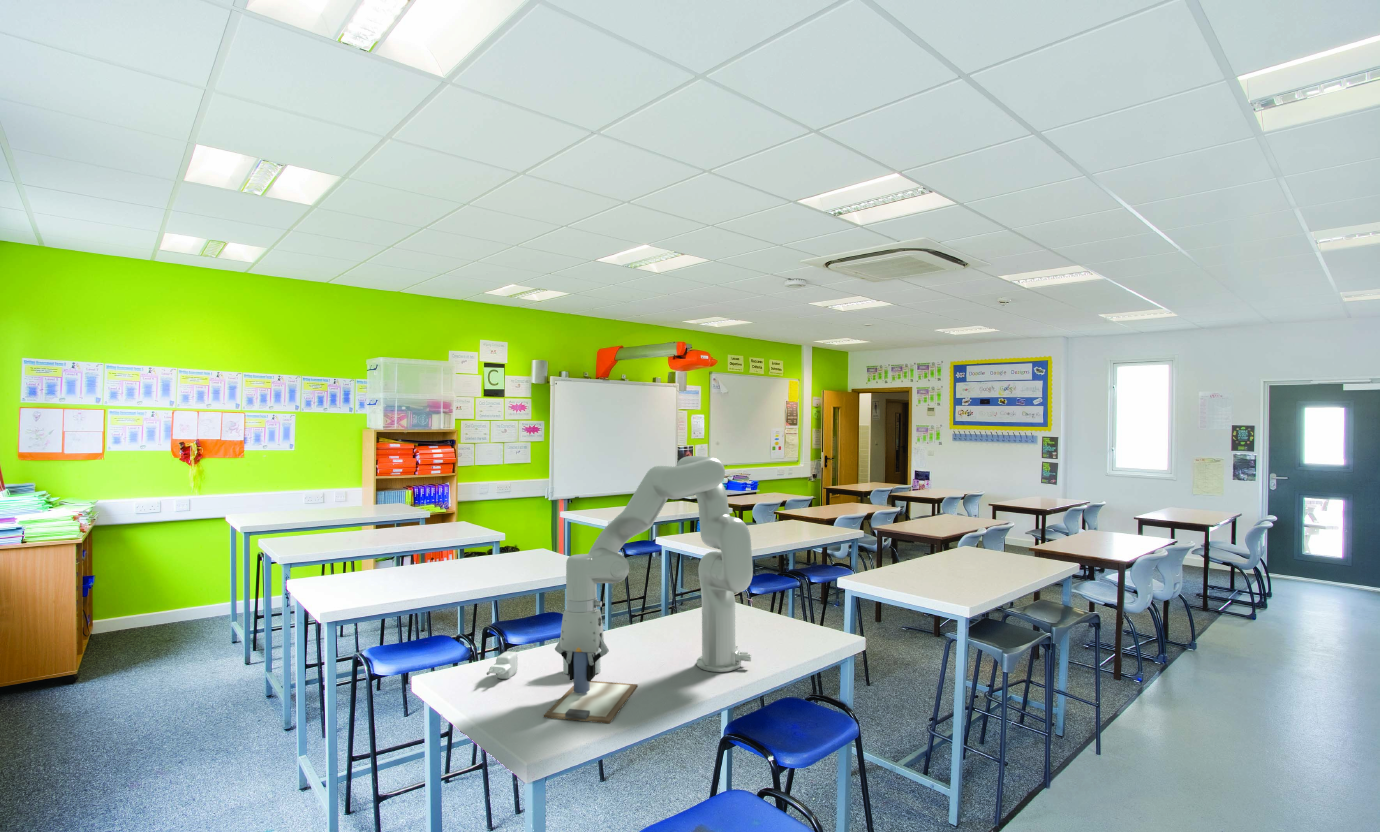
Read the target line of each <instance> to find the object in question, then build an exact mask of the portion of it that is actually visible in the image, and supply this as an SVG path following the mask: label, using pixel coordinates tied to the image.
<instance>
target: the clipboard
mask: <svg viewBox="0 0 1380 832" xmlns="http://www.w3.org/2000/svg"><path fill="white" fill-rule="evenodd" d="M637 688H638V683H625V682H624V683H623V682H614V681H613V682H611V681H600V680H599V681H597V680H591V681H590V690H589V691H588V692H585V693H576V692H574V684H573V685H572V686H571V687H570V688H569V689H568V691H566V692H565V693H564V694H563V695H562V697H560V698H559V699H558V700H556V702H555V703H554V704H553V705H551V707H550V708H549V709H548V710H546V712H545V713H544V714H543V718H544V717H547V719H555V718H557V719H558V720H566V719H568V720H569V721H577V720H581V721H580V722H588V721H592V722H591V723H601V722H602V723H603V724H611V722H612V721H613V720H614V719H615V717H616V716H617V715H618V713H619V712H620V711H619V710H621V709H622V708H623V707H624V705H626V703H627V701H628V700H629V699H630V698H631V696H632V695H633V694H634V692H635V691H636V690H637ZM628 698H629V699H628ZM625 702H626V703H625ZM622 706H623V707H622ZM618 711H619V712H618ZM602 723H601V724H602Z"/></svg>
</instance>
